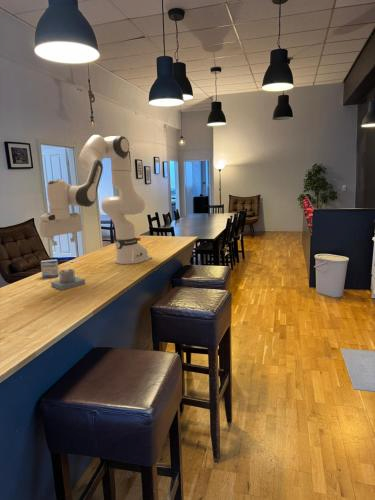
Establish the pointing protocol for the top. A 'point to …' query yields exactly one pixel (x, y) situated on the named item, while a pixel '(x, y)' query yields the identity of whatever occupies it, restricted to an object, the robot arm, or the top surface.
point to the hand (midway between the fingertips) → (64, 243)
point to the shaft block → (67, 285)
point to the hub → (67, 276)
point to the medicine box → (49, 268)
